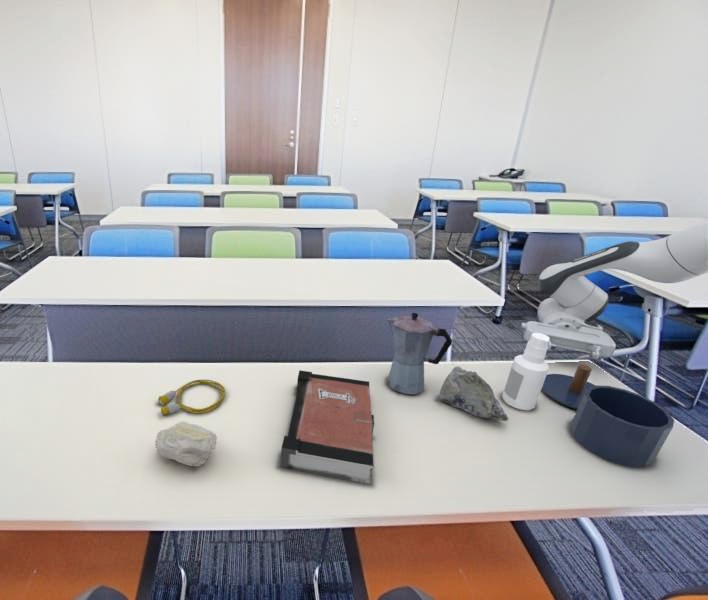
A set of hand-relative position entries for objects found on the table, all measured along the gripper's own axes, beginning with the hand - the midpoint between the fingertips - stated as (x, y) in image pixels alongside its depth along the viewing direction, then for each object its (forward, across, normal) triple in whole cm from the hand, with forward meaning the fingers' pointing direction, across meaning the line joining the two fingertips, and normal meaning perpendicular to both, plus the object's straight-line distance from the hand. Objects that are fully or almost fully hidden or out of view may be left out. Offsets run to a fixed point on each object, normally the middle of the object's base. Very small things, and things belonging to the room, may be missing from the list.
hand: (573, 352), depth 104 cm
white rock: (+68, -75, +7) cm, 101 cm away
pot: (+26, +3, +7) cm, 27 cm away
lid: (+10, 0, +6) cm, 12 cm away
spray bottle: (+19, -13, +7) cm, 24 cm away
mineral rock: (+28, -24, +7) cm, 37 cm away
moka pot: (+24, -38, +7) cm, 45 cm away
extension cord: (+52, -84, +7) cm, 99 cm away
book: (+48, -51, +7) cm, 70 cm away
